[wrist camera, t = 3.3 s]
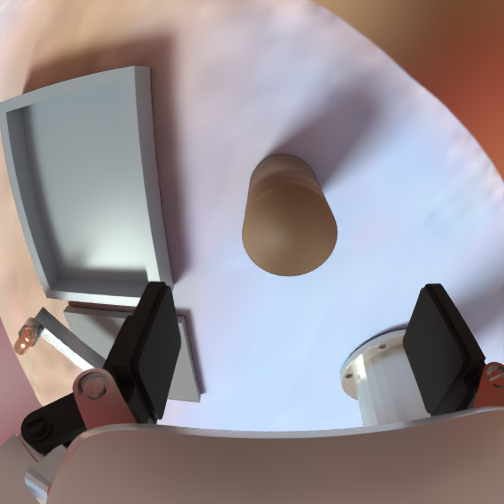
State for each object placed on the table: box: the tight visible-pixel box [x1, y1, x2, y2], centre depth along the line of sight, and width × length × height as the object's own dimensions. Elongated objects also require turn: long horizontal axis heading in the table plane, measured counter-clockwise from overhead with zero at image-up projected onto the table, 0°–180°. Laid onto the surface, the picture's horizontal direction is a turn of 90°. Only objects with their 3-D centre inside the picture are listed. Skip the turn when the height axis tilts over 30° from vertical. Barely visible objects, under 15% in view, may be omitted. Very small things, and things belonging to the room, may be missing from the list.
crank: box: [14, 307, 106, 371], centre depth 27 cm, size 14×5×5 cm, turn 40°
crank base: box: [63, 306, 201, 403], centre depth 33 cm, size 14×14×3 cm
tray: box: [0, 66, 174, 306], centre depth 23 cm, size 13×19×3 cm
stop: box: [242, 154, 337, 276], centre depth 20 cm, size 5×5×8 cm
